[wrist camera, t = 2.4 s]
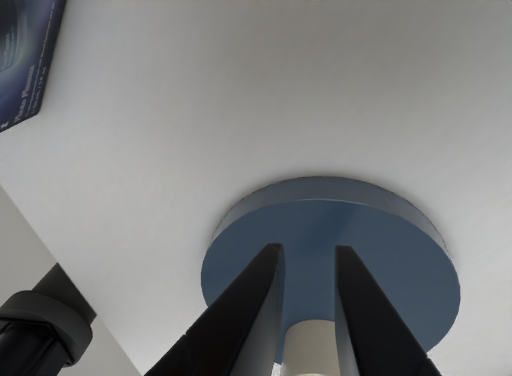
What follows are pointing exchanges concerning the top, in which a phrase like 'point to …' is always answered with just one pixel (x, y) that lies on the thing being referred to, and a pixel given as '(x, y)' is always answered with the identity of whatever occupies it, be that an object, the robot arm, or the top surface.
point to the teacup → (310, 349)
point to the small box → (25, 55)
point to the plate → (323, 251)
